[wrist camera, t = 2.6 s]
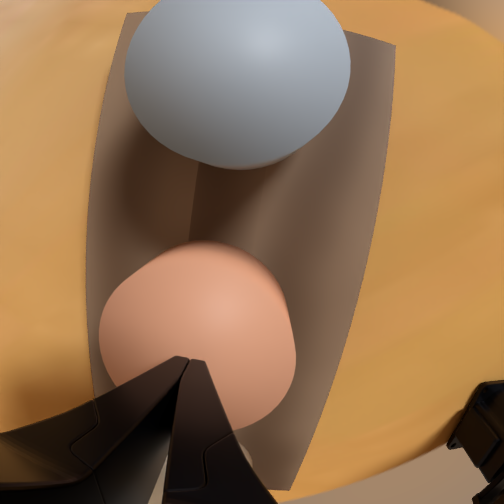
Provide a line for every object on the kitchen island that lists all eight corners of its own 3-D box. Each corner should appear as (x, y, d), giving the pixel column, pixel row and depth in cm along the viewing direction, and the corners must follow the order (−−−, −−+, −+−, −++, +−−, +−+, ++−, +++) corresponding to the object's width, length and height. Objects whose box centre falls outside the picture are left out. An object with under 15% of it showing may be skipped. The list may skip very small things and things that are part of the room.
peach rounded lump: (294, 240, 14) (316, 280, 8) (270, 359, 15) (274, 443, 9) (159, 219, 14) (97, 245, 8) (151, 339, 15) (106, 410, 9)
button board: (377, 63, 13) (395, 45, 11) (287, 464, 18) (289, 490, 16) (144, 33, 13) (127, 13, 10) (118, 434, 18) (106, 457, 16)
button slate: (322, 56, 12) (356, -10, 6) (304, 183, 13) (335, 184, 8) (190, 39, 12) (153, -28, 6) (166, 163, 13) (106, 154, 8)
